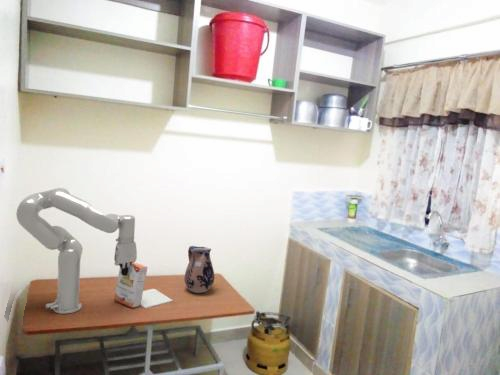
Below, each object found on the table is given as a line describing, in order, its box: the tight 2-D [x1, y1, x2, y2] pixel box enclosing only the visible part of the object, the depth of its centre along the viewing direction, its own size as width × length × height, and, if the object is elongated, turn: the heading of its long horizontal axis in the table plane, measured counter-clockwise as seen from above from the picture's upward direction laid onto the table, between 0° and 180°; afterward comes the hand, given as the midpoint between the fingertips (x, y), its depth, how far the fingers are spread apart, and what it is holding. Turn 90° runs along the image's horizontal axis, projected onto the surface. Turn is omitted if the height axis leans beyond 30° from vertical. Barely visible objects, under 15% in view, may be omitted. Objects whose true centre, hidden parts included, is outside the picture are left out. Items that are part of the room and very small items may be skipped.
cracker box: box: [113, 261, 148, 309], centre depth 191 cm, size 14×6×21 cm, turn 60°
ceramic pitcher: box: [183, 245, 215, 294], centre depth 217 cm, size 18×21×25 cm
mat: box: [140, 288, 173, 310], centre depth 200 cm, size 16×19×1 cm
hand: (124, 274), depth 187 cm, fingers closed
